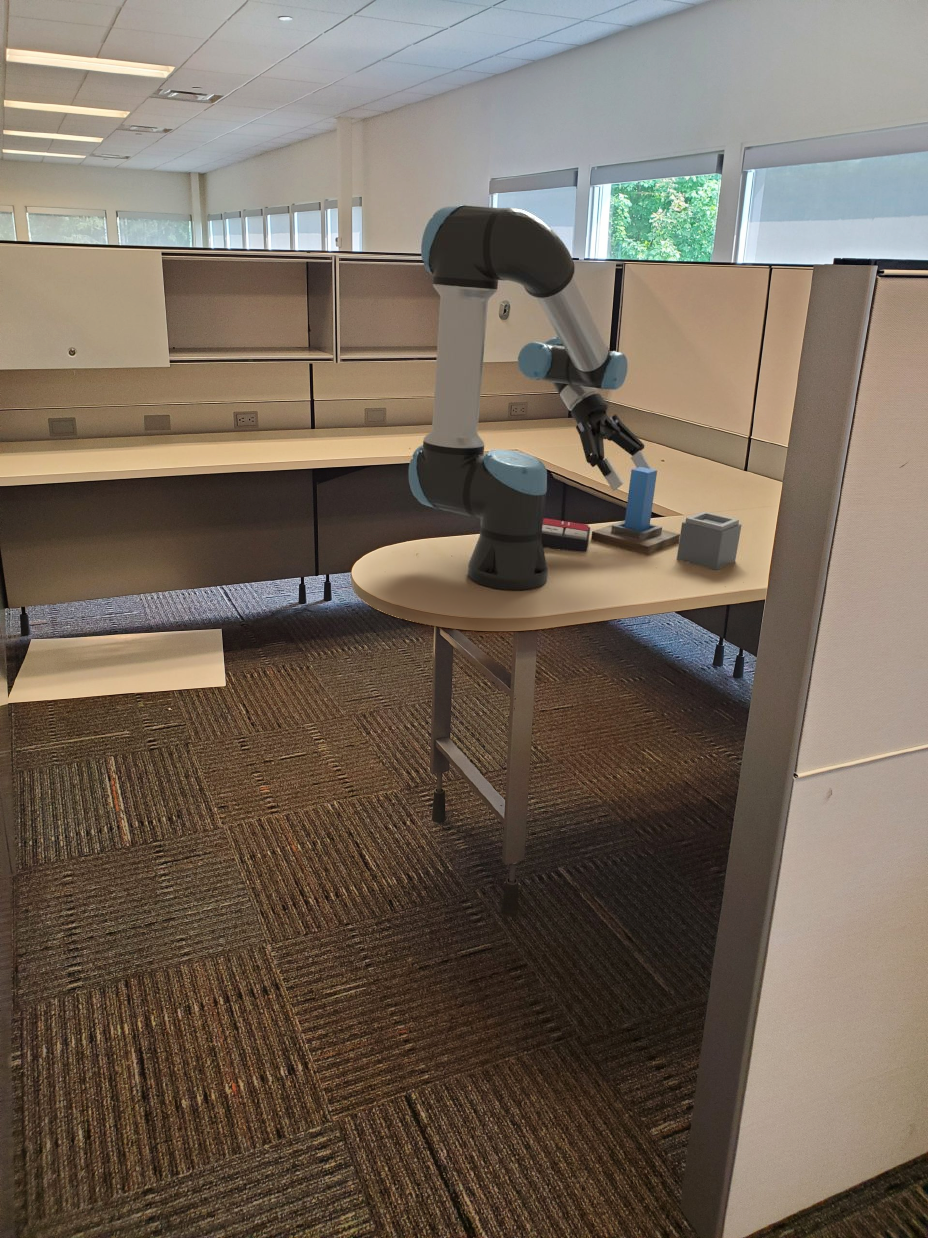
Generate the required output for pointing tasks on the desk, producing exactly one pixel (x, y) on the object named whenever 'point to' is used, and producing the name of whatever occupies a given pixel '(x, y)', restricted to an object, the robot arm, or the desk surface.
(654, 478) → the plug
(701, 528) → the upper socket block
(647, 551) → the lower socket plate
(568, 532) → the black and red block
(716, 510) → the desk surface
